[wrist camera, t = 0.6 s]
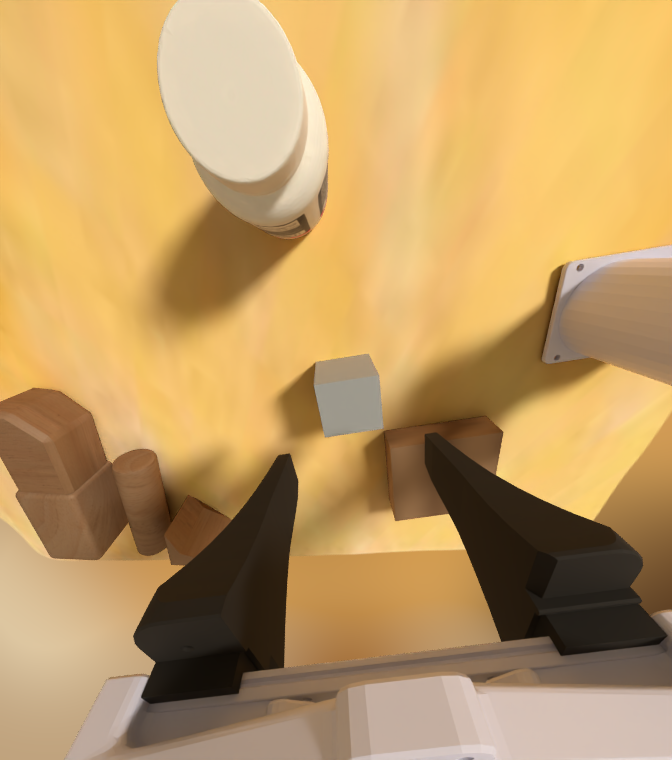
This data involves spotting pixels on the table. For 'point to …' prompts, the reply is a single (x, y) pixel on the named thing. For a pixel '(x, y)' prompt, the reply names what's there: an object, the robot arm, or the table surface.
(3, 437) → the wooden block set
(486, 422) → the walnut block
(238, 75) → the pill bottle
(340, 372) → the grey cube
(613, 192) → the table surface
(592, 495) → the table surface
